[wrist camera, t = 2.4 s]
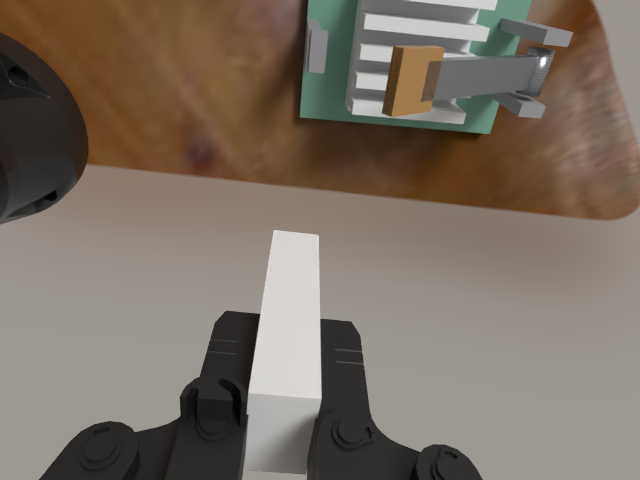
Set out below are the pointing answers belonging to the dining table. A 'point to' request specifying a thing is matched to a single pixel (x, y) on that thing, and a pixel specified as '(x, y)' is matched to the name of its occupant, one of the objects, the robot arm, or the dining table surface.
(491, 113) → the heatsink board
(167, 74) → the dining table surface
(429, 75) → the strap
